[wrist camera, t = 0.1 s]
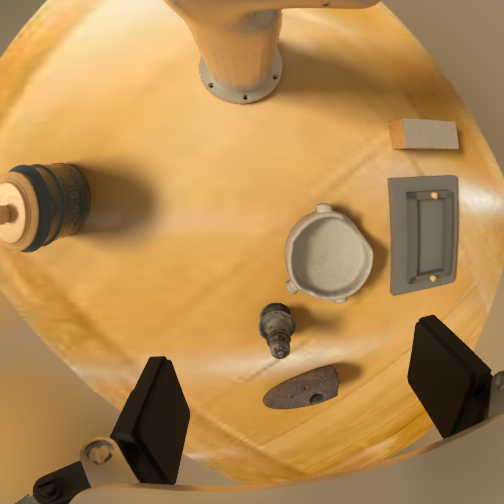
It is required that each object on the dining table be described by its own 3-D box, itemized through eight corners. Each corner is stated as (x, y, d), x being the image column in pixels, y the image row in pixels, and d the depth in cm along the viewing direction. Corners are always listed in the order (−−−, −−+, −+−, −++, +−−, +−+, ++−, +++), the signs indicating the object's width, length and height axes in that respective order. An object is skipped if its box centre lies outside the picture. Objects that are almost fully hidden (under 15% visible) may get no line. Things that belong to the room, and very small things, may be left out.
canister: (94, 163, 43) (27, 166, 26) (91, 239, 46) (29, 271, 29) (40, 162, 42) (-28, 168, 25) (38, 231, 46) (-25, 256, 29)
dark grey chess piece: (297, 306, 50) (310, 345, 38) (285, 335, 51) (293, 377, 39) (264, 296, 49) (268, 334, 37) (253, 326, 51) (253, 368, 39)
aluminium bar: (388, 122, 41) (402, 118, 37) (439, 124, 41) (455, 122, 36) (391, 149, 43) (405, 147, 38) (442, 149, 42) (458, 148, 37)
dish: (307, 192, 45) (314, 195, 40) (378, 233, 46) (391, 240, 42) (264, 273, 48) (266, 285, 43) (336, 306, 50) (343, 319, 45)
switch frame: (387, 178, 44) (399, 179, 40) (451, 175, 43) (465, 176, 39) (390, 292, 49) (400, 302, 45) (449, 279, 48) (461, 287, 44)
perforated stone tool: (266, 399, 55) (267, 423, 49) (257, 381, 54) (258, 406, 47) (337, 376, 54) (346, 399, 47) (331, 357, 53) (340, 380, 46)
